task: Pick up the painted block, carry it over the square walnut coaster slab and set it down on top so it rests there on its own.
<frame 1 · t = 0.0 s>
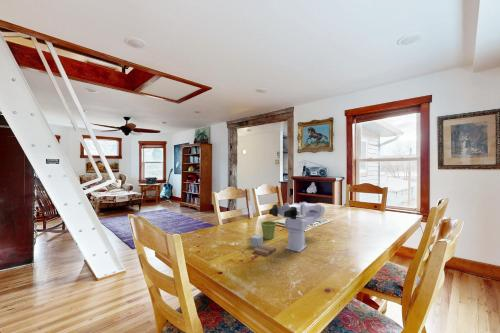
hand: (277, 213, 102), 22 cm above the table, tool horizontal, fingers open, 7 cm apart
block: (256, 246, 122), on the table
slab: (264, 252, 114), on the table
plant pot: (268, 238, 135), on the table
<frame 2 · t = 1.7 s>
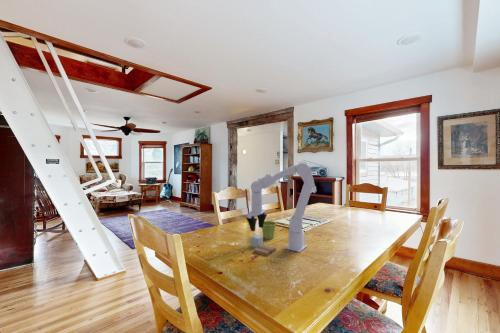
hand: (256, 229, 121), 9 cm above the table, tool pointing down, fingers open, 7 cm apart
nothing on the table moved.
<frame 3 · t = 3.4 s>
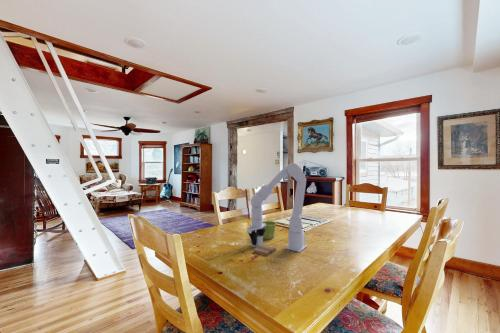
hand: (256, 243, 122), 1 cm above the table, tool pointing down, fingers closed on block, 5 cm apart
block: (256, 245, 122), on the table, touching gripper
everything else where it was.
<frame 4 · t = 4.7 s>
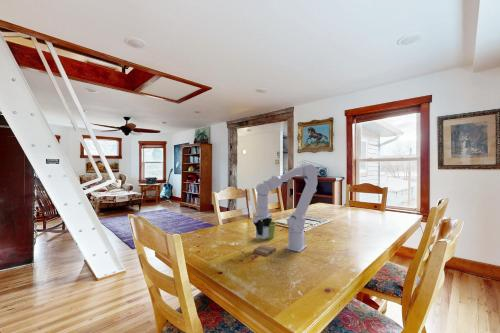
hand: (262, 233, 116), 8 cm above the table, tool pointing down, fingers closed on block, 5 cm apart
block: (262, 236, 116), point 7 cm above the table, touching gripper
everything else where it was.
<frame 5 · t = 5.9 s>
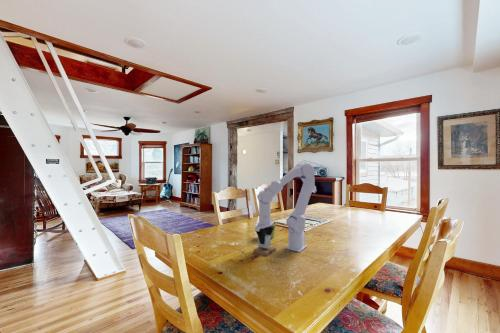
hand: (264, 242, 114), 5 cm above the table, tool pointing down, fingers closed on block, 5 cm apart
block: (264, 245, 114), point 3 cm above the table, touching gripper
everything else where it was.
when the fingers open (5 cm above the table, at t = 6.4 s): block drops 2 cm, resting on slab.
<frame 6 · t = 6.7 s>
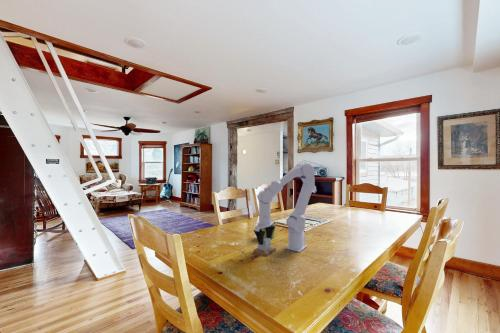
hand: (264, 242, 114), 5 cm above the table, tool pointing down, fingers open, 7 cm apart
block: (264, 248, 114), point 1 cm above the table, touching slab
slab: (264, 252, 114), on the table, touching block
everything else where it was.
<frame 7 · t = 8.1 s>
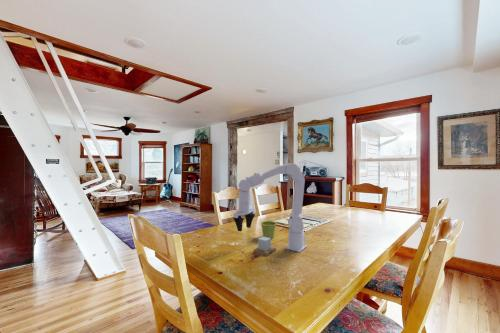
hand: (244, 229, 118), 10 cm above the table, tool pointing down, fingers open, 7 cm apart
block: (264, 248, 114), point 1 cm above the table
slab: (264, 252, 114), on the table
everything else where it was.
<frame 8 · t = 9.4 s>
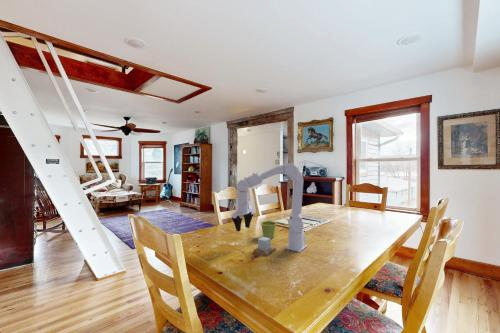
hand: (242, 229, 118), 10 cm above the table, tool pointing down, fingers open, 7 cm apart
block: (264, 248, 114), point 1 cm above the table, touching slab
slab: (264, 252, 114), on the table, touching block
everything else where it was.
at the end: block 0.1 cm off-centre on the slab, point 2.0 cm above the slab's base; block tilted 1°; the gripper is holding nothing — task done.
